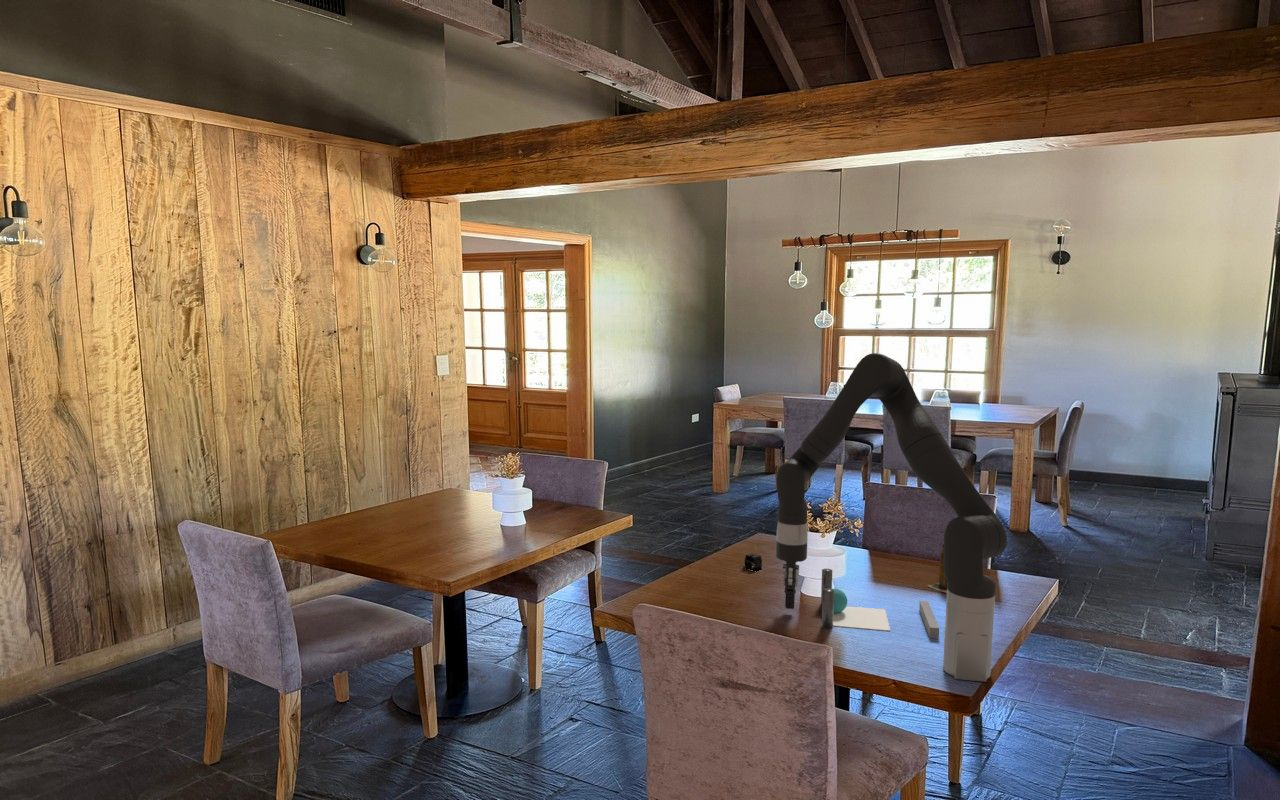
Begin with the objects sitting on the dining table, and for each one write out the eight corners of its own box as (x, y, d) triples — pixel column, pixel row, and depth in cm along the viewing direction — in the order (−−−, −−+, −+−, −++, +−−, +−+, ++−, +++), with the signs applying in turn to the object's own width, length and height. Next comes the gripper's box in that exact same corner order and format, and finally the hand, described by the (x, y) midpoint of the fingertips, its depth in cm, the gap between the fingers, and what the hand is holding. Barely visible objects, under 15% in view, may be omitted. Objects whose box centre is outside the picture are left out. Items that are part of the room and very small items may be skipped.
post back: (831, 606, 205) (832, 572, 204) (820, 605, 205) (822, 571, 204) (831, 602, 207) (832, 569, 206) (820, 602, 208) (821, 568, 207)
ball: (850, 591, 197) (829, 598, 196) (853, 612, 199) (832, 620, 197) (837, 581, 203) (816, 589, 201) (839, 602, 204) (819, 610, 203)
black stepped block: (729, 567, 238) (729, 552, 237) (746, 562, 242) (746, 548, 242) (760, 578, 228) (761, 562, 228) (777, 573, 233) (778, 558, 232)
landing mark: (890, 631, 189) (890, 630, 189) (829, 625, 192) (829, 625, 192) (885, 610, 202) (885, 609, 202) (828, 605, 205) (828, 604, 205)
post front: (832, 629, 189) (834, 592, 188) (821, 628, 190) (823, 591, 189) (832, 625, 192) (834, 588, 191) (821, 624, 192) (822, 588, 191)
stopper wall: (938, 638, 185) (939, 628, 184) (929, 637, 185) (930, 627, 185) (927, 610, 202) (928, 601, 202) (919, 610, 202) (919, 600, 202)
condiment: (969, 589, 219) (971, 546, 218) (949, 594, 215) (952, 550, 213) (946, 581, 225) (948, 539, 224) (926, 586, 221) (928, 544, 219)
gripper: (807, 548, 190) (804, 618, 192) (807, 533, 203) (805, 599, 205) (775, 545, 192) (773, 615, 194) (777, 531, 205) (775, 597, 206)
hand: (789, 607), depth 199 cm, fingers closed
